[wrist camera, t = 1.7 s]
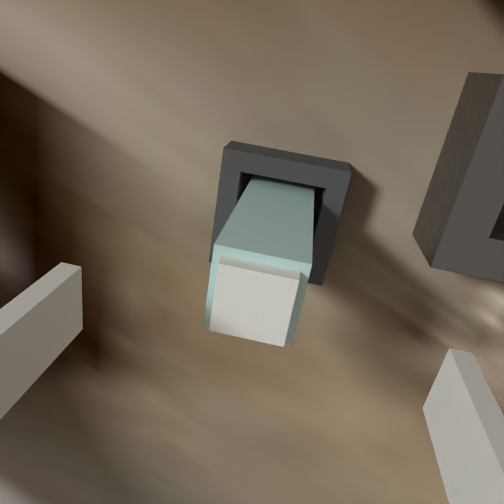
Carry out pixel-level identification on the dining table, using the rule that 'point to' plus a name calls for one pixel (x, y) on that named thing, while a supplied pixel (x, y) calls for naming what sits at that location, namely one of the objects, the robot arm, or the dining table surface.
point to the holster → (290, 169)
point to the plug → (262, 263)
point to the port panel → (468, 186)
